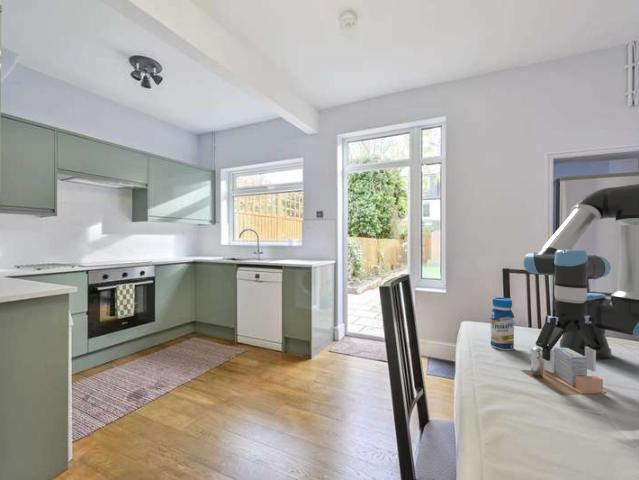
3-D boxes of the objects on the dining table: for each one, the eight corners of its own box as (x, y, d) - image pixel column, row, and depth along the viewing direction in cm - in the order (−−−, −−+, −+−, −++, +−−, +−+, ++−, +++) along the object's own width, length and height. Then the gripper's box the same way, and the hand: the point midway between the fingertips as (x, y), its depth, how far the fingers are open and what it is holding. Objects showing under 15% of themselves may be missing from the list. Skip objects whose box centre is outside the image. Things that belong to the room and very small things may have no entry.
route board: (559, 372, 96) (559, 369, 96) (607, 397, 81) (607, 393, 81) (519, 373, 96) (519, 370, 96) (560, 398, 81) (560, 394, 81)
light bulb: (537, 373, 94) (537, 345, 94) (547, 378, 90) (547, 349, 90) (527, 373, 93) (527, 345, 93) (536, 378, 90) (536, 349, 90)
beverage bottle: (514, 346, 120) (514, 298, 120) (514, 352, 113) (514, 301, 113) (490, 342, 125) (490, 295, 125) (489, 348, 118) (490, 299, 118)
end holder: (559, 370, 95) (559, 358, 95) (604, 393, 81) (604, 379, 81) (539, 371, 95) (539, 359, 95) (580, 394, 81) (581, 379, 81)
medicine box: (587, 387, 84) (588, 357, 84) (570, 386, 85) (571, 356, 85) (568, 374, 92) (568, 347, 92) (552, 373, 92) (552, 346, 92)
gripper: (595, 297, 93) (595, 363, 93) (522, 298, 91) (521, 365, 91) (621, 302, 85) (620, 374, 85) (541, 303, 84) (541, 377, 84)
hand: (569, 370), depth 88 cm, fingers open, 13 cm apart
